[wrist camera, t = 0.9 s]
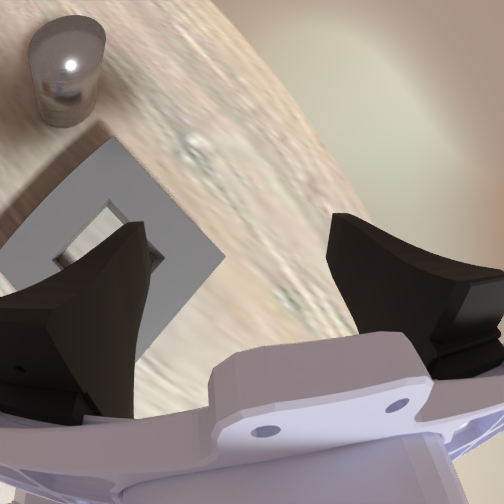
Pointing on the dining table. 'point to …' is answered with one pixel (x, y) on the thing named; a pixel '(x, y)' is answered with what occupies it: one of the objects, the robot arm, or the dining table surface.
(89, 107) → the round dowel
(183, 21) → the dining table surface
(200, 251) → the bore block
